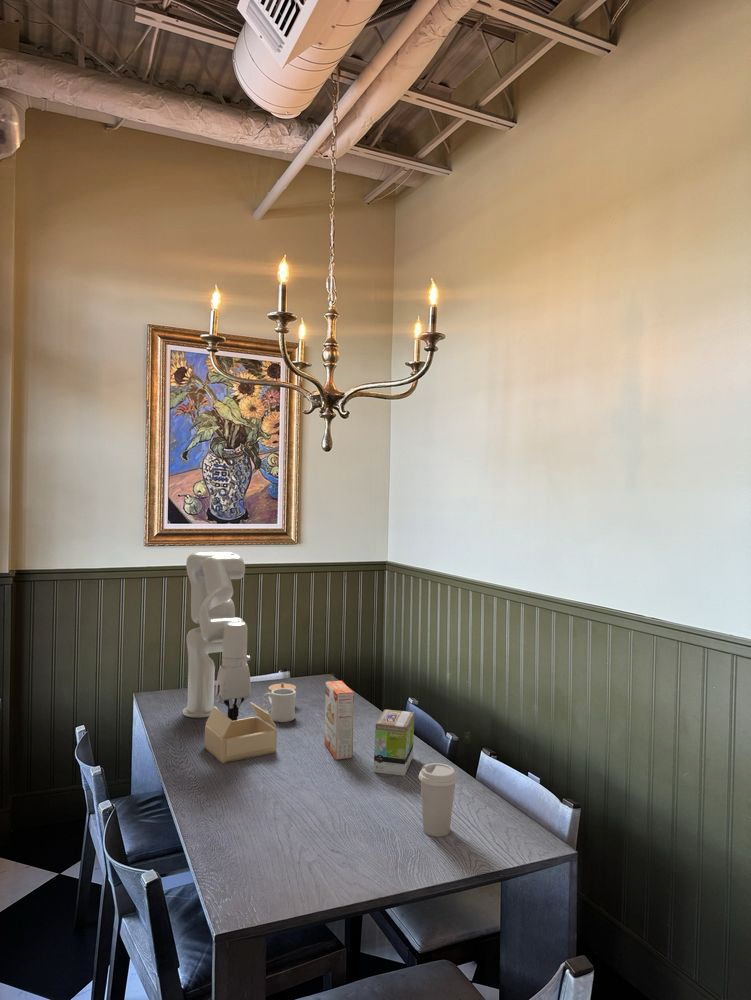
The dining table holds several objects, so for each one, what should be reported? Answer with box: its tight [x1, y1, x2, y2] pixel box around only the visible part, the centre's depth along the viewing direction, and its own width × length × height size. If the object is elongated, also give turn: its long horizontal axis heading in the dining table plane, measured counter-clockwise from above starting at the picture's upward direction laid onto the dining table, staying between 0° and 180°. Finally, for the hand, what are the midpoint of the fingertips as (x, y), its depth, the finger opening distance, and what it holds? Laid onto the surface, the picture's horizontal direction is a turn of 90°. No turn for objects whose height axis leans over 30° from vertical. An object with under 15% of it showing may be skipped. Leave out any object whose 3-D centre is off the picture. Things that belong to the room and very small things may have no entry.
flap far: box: [249, 701, 277, 729], centre depth 218 cm, size 14×6×1 cm
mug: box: [261, 688, 297, 723], centre depth 245 cm, size 12×9×10 cm
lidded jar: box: [267, 682, 297, 706], centre depth 258 cm, size 11×11×9 cm
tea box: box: [373, 709, 415, 777], centre depth 205 cm, size 15×10×15 cm, turn 168°
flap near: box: [205, 708, 232, 737], centre depth 209 cm, size 14×6×1 cm
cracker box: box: [324, 680, 355, 761], centre depth 215 cm, size 14×6×21 cm, turn 19°
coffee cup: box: [418, 762, 458, 838], centre depth 165 cm, size 10×10×15 cm
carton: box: [204, 716, 278, 764], centre depth 214 cm, size 16×18×7 cm
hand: (232, 719), depth 212 cm, fingers closed
